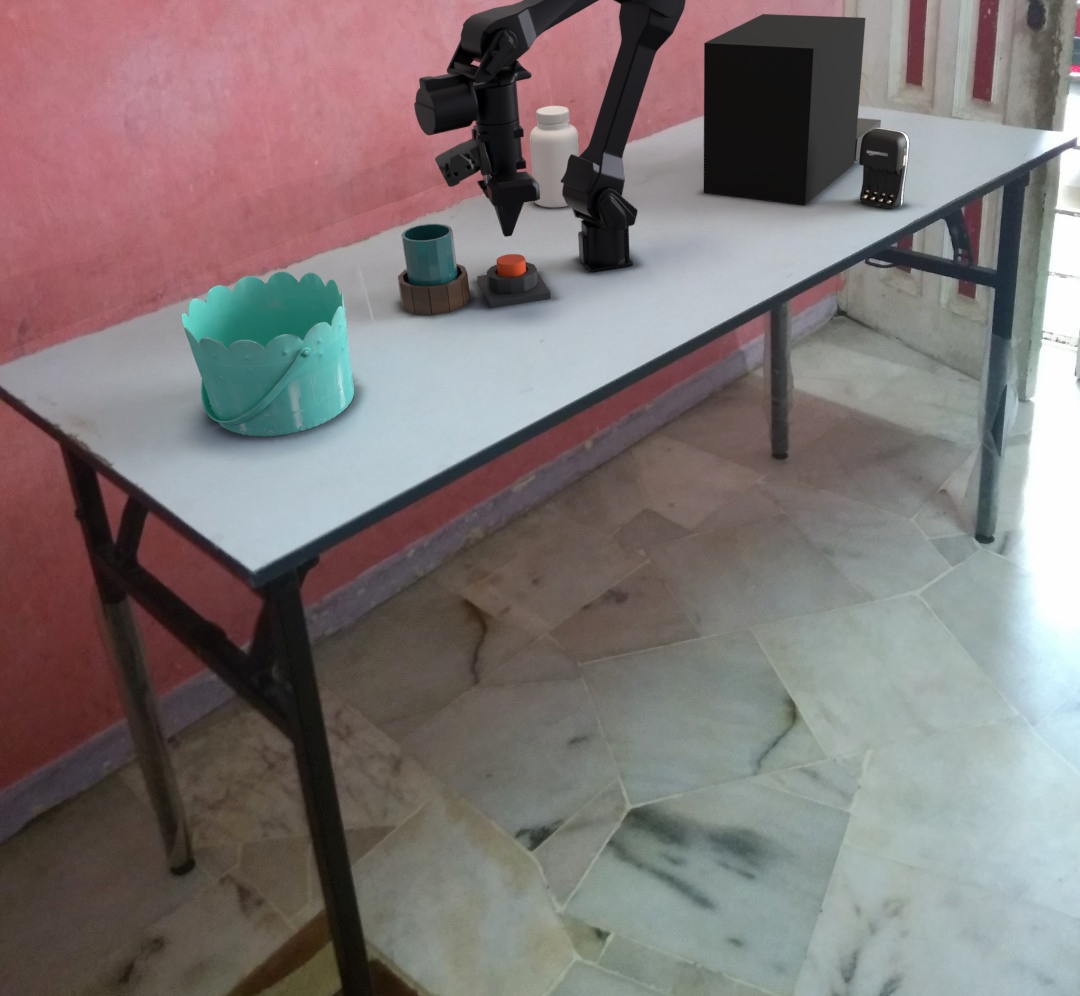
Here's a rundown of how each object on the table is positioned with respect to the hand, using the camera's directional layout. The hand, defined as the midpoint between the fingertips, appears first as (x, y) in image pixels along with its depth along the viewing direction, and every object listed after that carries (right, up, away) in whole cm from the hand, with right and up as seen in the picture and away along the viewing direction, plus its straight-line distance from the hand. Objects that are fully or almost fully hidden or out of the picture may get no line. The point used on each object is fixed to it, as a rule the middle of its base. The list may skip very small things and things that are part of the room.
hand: (507, 235), depth 156 cm
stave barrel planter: (-10, -8, +3) cm, 14 cm away
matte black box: (+48, +21, +41) cm, 67 cm away
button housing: (+1, -7, +4) cm, 8 cm away
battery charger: (+58, +10, +23) cm, 63 cm away
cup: (-10, -8, +3) cm, 14 cm away
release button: (0, -5, +3) cm, 6 cm away
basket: (-26, -25, -19) cm, 41 cm away
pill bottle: (+7, +14, +36) cm, 39 cm away
